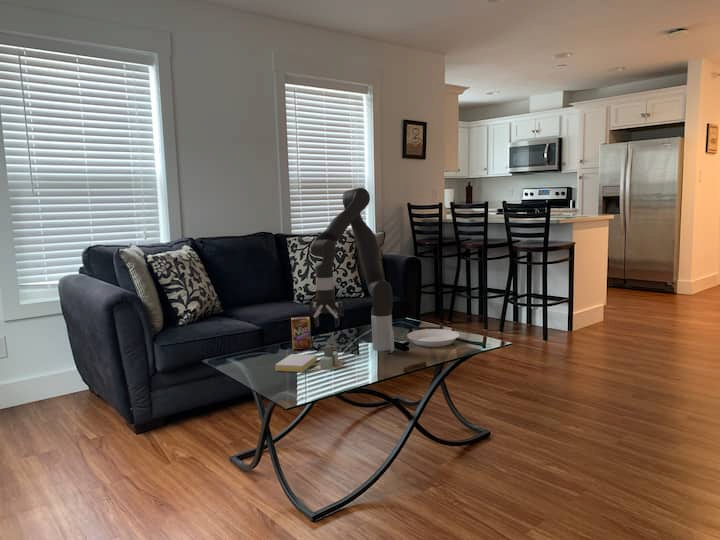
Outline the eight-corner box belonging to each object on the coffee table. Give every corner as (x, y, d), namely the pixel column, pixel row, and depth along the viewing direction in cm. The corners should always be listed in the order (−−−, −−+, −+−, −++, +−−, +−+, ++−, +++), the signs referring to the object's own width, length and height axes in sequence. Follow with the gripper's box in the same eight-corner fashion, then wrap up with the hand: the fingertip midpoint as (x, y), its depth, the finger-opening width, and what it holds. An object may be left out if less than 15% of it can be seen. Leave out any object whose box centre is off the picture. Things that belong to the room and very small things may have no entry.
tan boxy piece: (324, 364, 241) (322, 341, 240) (346, 365, 239) (344, 342, 237) (312, 374, 228) (311, 350, 227) (335, 375, 225) (334, 351, 224)
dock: (317, 364, 240) (317, 355, 240) (303, 375, 225) (302, 365, 224) (291, 363, 244) (290, 354, 243) (275, 374, 228) (275, 364, 228)
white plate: (402, 348, 260) (402, 340, 260) (413, 335, 284) (412, 328, 284) (456, 349, 253) (455, 342, 253) (462, 336, 277) (462, 329, 276)
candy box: (292, 350, 264) (290, 319, 262) (292, 348, 268) (290, 317, 266) (311, 349, 265) (309, 317, 263) (311, 347, 269) (309, 316, 268)
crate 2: (329, 360, 239) (328, 351, 238) (338, 361, 238) (337, 352, 237) (326, 363, 235) (325, 354, 235) (335, 363, 234) (334, 354, 233)
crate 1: (323, 365, 232) (323, 356, 232) (332, 366, 231) (332, 356, 231) (320, 368, 228) (320, 359, 228) (329, 368, 227) (329, 359, 227)
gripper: (344, 286, 231) (346, 324, 233) (312, 286, 235) (314, 324, 237) (338, 289, 224) (340, 329, 226) (305, 289, 228) (307, 328, 230)
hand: (327, 326), depth 231 cm, fingers open, 8 cm apart
